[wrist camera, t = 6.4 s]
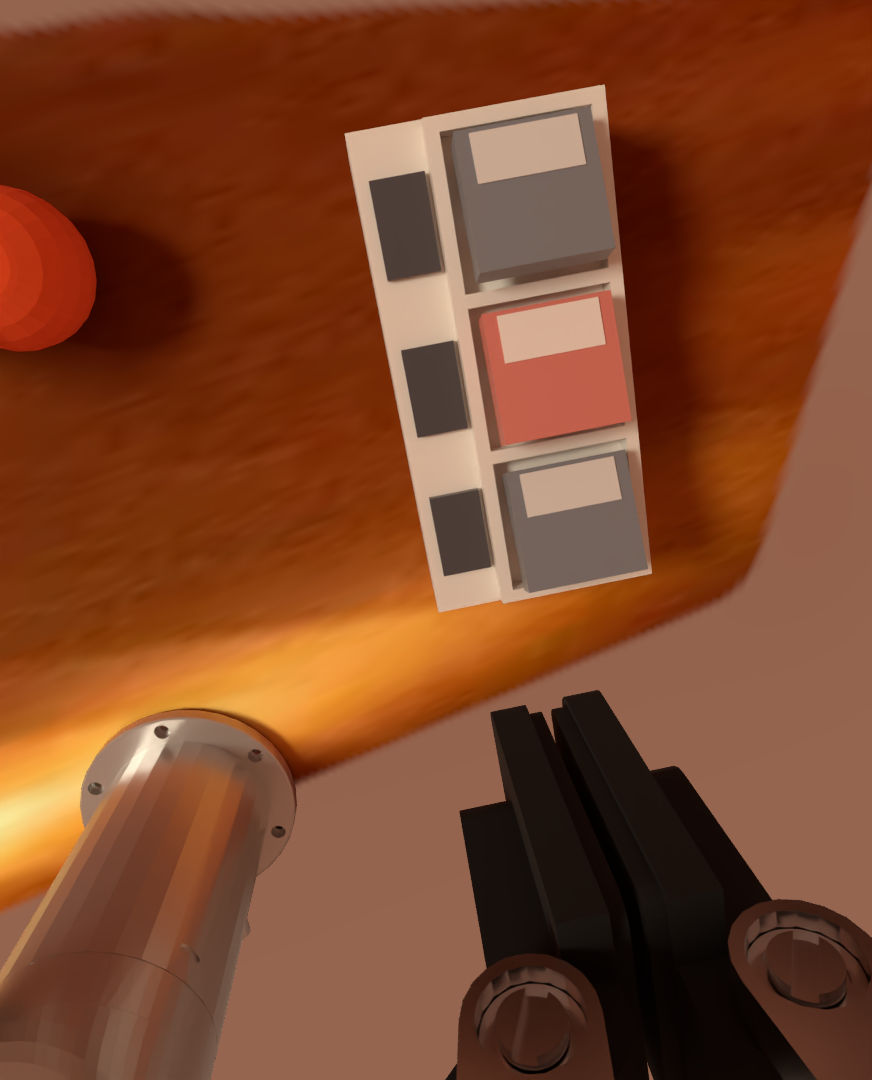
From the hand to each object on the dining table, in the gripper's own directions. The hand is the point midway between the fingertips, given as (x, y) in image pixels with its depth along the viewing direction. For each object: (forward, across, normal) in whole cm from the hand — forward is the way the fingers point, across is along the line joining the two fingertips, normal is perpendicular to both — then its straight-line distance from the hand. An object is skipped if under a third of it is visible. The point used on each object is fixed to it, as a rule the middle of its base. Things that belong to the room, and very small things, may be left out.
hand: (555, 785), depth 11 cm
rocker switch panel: (+29, -4, -4) cm, 30 cm away
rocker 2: (+22, -6, +3) cm, 23 cm away
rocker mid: (+22, -6, -4) cm, 23 cm away
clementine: (+29, +17, -12) cm, 36 cm away
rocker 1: (+22, -6, -11) cm, 25 cm away
